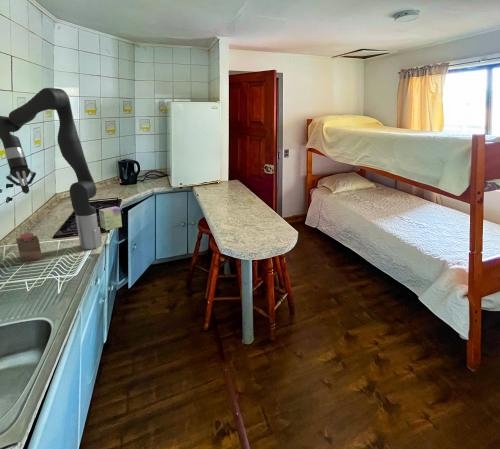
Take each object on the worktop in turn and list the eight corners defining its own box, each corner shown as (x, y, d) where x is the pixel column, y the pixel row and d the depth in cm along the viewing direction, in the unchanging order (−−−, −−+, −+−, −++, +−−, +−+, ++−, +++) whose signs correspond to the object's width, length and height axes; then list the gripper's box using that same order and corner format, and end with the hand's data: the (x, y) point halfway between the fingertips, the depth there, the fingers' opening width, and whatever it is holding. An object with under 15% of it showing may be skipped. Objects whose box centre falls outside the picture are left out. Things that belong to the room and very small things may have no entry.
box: (117, 224, 205) (115, 206, 201) (122, 226, 201) (120, 207, 198) (100, 228, 197) (98, 209, 193) (105, 230, 194) (103, 211, 190)
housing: (20, 256, 156) (16, 238, 154) (40, 253, 161) (36, 235, 158) (21, 262, 150) (17, 243, 148) (42, 258, 155) (38, 240, 152)
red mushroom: (23, 253, 156) (19, 234, 153) (36, 251, 158) (32, 232, 156) (24, 256, 152) (20, 237, 149) (37, 254, 155) (33, 234, 152)
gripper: (-1, 158, 155) (10, 195, 157) (32, 154, 163) (42, 189, 164) (0, 161, 162) (10, 196, 163) (31, 158, 169) (41, 191, 171)
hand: (26, 193), depth 164 cm, fingers closed
